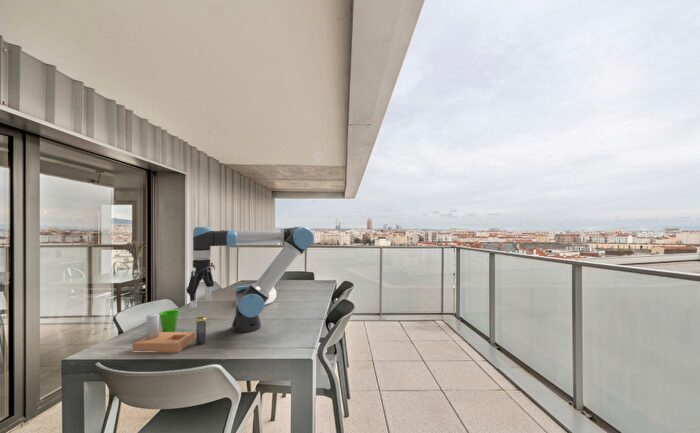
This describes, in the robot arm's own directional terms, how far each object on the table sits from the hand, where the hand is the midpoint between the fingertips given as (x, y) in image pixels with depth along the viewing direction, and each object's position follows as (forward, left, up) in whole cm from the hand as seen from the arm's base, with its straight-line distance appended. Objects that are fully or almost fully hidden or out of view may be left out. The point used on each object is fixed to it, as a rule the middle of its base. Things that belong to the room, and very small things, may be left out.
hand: (201, 303), depth 141 cm
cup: (+23, -13, -19) cm, 32 cm away
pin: (0, 0, -19) cm, 19 cm away
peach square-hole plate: (+15, +3, -19) cm, 24 cm away
